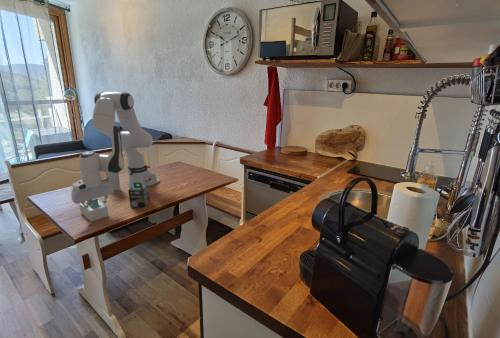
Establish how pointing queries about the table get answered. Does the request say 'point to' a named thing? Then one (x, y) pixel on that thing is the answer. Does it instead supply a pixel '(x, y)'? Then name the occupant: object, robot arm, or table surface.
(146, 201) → the chalk box
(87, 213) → the hole block
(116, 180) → the paper towel roll
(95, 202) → the teal dowel
